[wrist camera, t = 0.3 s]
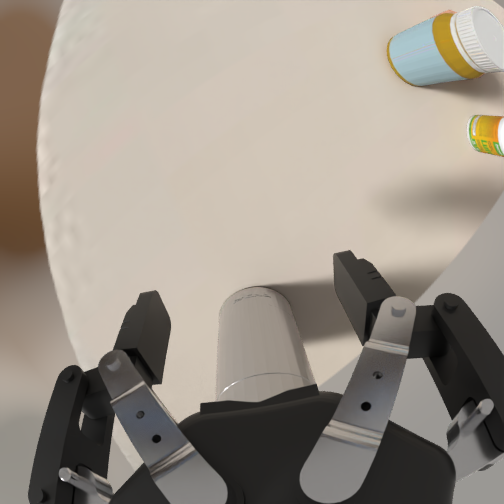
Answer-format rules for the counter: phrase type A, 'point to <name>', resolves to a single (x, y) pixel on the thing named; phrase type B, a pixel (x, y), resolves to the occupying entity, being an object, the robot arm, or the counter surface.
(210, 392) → the counter surface
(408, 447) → the robot arm
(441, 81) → the bottle
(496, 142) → the supplement bottle
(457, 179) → the counter surface
